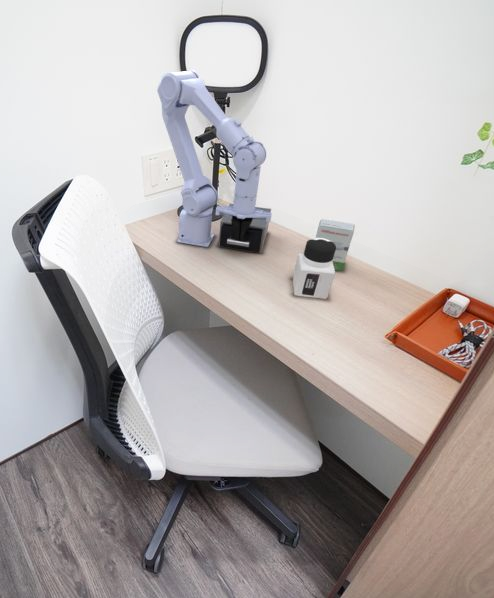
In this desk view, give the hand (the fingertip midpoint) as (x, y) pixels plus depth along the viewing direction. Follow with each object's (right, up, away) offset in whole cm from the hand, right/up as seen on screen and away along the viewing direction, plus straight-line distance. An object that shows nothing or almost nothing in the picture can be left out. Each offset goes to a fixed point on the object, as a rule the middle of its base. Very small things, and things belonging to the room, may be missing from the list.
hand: (239, 241), depth 100 cm
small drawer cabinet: (+3, +2, +10) cm, 10 cm away
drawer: (+2, +1, +6) cm, 7 cm away
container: (+15, -14, -11) cm, 23 cm away
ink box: (+23, -6, -1) cm, 24 cm away
